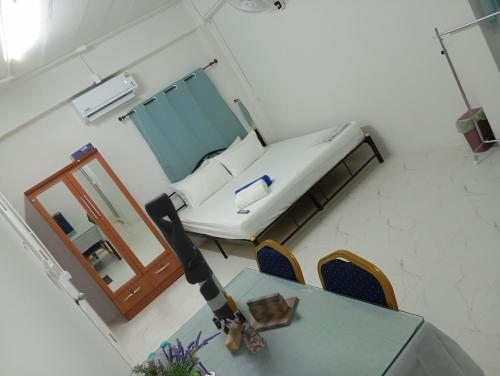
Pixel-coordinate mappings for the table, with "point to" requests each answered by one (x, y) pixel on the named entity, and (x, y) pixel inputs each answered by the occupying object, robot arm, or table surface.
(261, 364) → the table surface
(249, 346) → the figurine
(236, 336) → the oak batten
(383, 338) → the table surface
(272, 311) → the ridge stand
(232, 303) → the carrot
